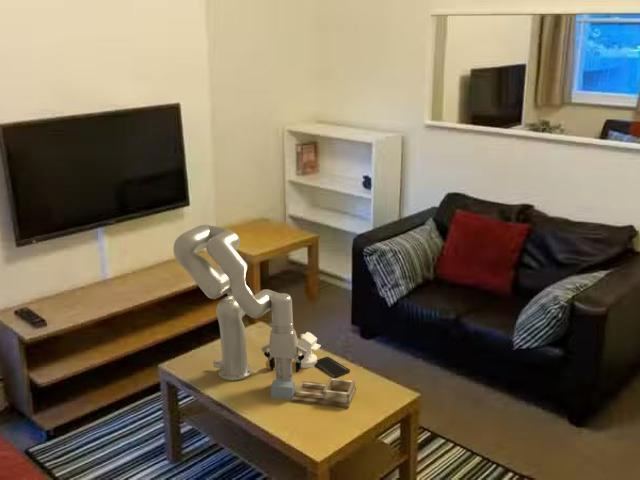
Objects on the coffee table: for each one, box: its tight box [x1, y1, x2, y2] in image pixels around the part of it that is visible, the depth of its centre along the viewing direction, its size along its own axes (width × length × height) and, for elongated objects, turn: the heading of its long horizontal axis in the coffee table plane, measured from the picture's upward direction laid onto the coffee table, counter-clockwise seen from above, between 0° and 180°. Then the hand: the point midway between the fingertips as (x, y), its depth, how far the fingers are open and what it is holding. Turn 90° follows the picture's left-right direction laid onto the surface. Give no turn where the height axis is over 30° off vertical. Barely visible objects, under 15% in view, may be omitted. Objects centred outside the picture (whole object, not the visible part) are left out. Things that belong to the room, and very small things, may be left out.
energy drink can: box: [275, 355, 294, 382], centre depth 261 cm, size 6×6×15 cm
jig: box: [291, 377, 357, 409], centre depth 254 cm, size 20×13×4 cm, turn 76°
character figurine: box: [298, 331, 322, 369], centre depth 277 cm, size 9×10×12 cm
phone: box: [314, 356, 351, 379], centre depth 274 cm, size 8×1×15 cm
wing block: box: [270, 379, 296, 401], centre depth 255 cm, size 8×4×5 cm, turn 78°
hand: (285, 369), depth 261 cm, fingers open, 9 cm apart
